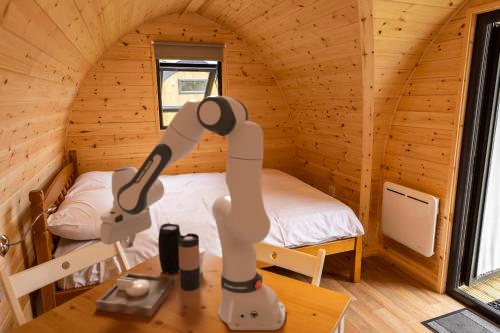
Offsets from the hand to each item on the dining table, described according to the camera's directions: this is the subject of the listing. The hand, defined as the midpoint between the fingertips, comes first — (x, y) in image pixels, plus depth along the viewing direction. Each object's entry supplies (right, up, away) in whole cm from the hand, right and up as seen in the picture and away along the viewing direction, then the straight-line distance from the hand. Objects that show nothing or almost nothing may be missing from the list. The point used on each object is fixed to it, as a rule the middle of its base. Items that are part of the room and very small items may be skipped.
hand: (128, 247), depth 124 cm
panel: (+4, -17, -2) cm, 18 cm away
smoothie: (+23, -14, +16) cm, 31 cm away
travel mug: (+22, -16, +5) cm, 28 cm away
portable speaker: (+12, -14, +17) cm, 25 cm away
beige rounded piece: (+2, -15, -2) cm, 15 cm away
